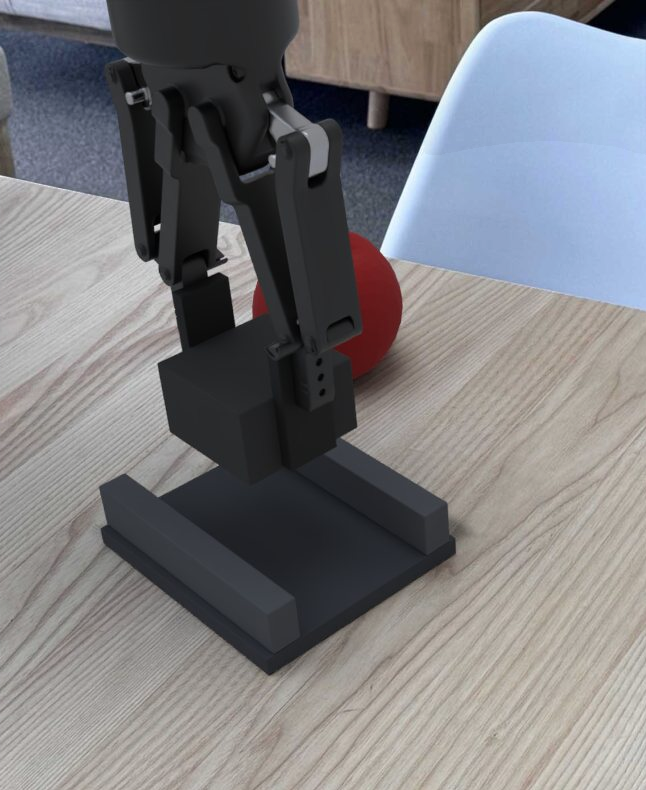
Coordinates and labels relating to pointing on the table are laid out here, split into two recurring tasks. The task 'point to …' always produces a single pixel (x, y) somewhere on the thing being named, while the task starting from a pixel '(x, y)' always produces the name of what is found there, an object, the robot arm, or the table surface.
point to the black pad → (238, 399)
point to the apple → (365, 306)
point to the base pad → (281, 547)
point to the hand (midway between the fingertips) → (262, 425)
